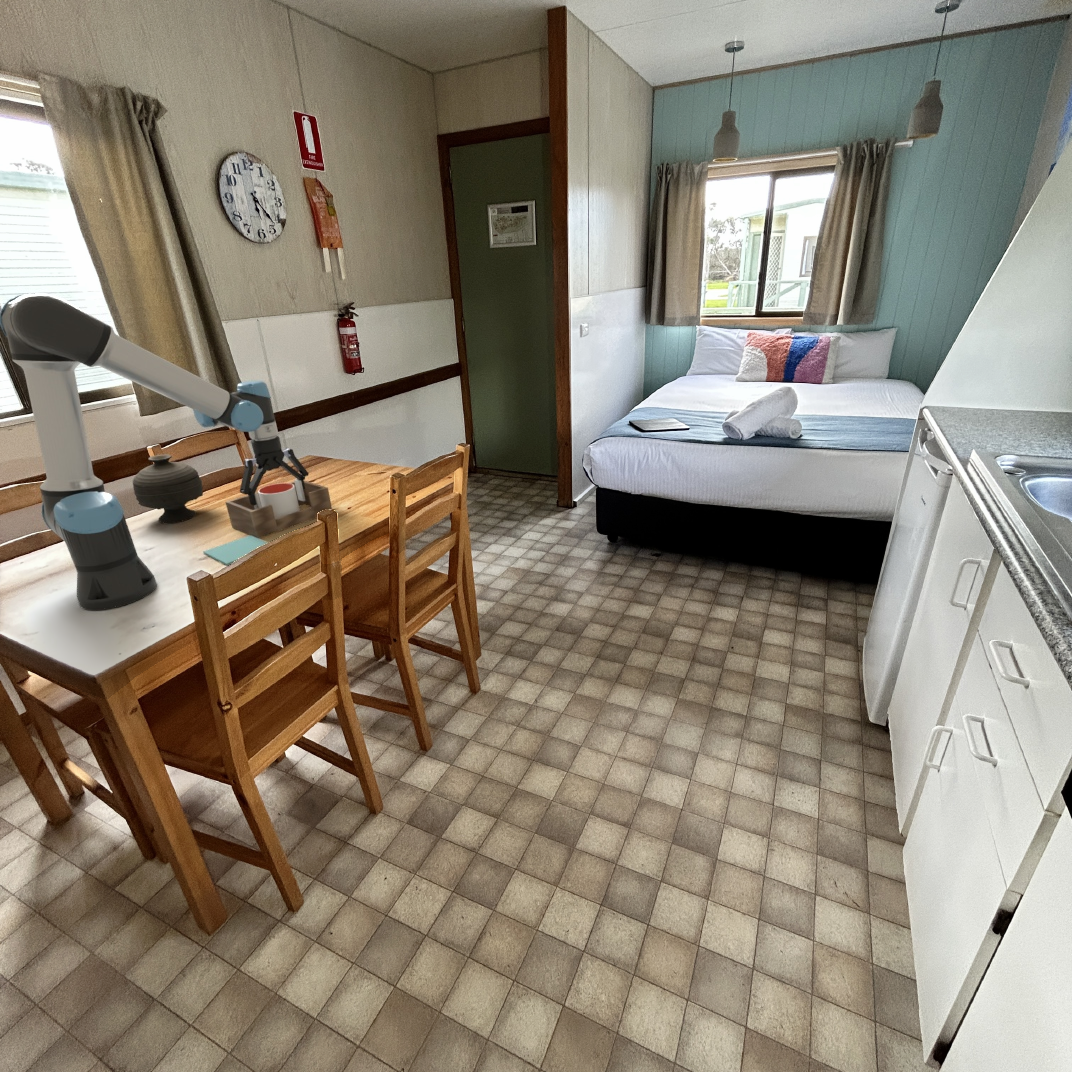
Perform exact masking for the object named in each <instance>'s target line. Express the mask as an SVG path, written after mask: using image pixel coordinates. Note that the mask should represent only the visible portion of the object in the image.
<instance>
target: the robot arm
mask: <svg viewBox="0 0 1072 1072" xmlns="http://www.w3.org/2000/svg"><path fill="white" fill-rule="evenodd" d="M0 327H1V330H2V332H3V334H4V335H5V337H6V338H7V341H8V346H9V351H10V354H11V359H12V362H14V363H15V364H17V365H18V366H19V367H20V368H21V369H22V370H23V372H24V377H25V381H26V385H27V390H28V391H27V392H28V395H29V400H30V405H31V409H32V414H33V415H32V416H33V418H34V425H35V428H36V433H37V437H38V442H39V448H40V453H41V457H42V461H43V467H44V471H45V475H46V476H45V477H46V479H45V480H44V481H43V482H42V483H41V484H40V485H39V489H40V493H41V499H42V504H41V518H42V520H43V521H44V523H45V525H46V527H48V529H50V530H51V531H52V532H53V533H54V534H56V535H57V536H58V537H59V538H60V539H61V540H63V542H64V543H65V545H66V547H67V550H68V552H69V555H70V557H71V560H72V562H73V565H74V567H75V570H76V599H77V601H78V604H79V606H80V608H82V609H83V610H88V611H102V610H110V609H114V608H119V607H124V606H126V605H129V604H132V603H135V602H137V601H139V600H141V599H143V598H145V597H147V596H148V595H150V594H151V593H152V592H153V591H155V589H156V588H157V586H158V583H157V581H156V577H155V575H154V574H153V572H152V571H151V570H150V569H149V567H148V566H147V565H146V564H145V563H144V561H143V560H142V559H141V558H140V557H139V555H138V552H137V549H136V546H135V543H134V541H133V540H134V539H133V538H132V535H131V532H130V529H129V526H128V523H127V521H126V517H125V514H124V512H125V511H124V509H123V506H122V505H121V503H120V501H119V499H118V498H117V497H116V496H115V495H113V494H112V493H109V492H106V491H105V486H104V481H103V480H102V479H100V478H98V477H97V476H96V475H95V474H94V470H93V464H92V458H91V454H90V453H91V452H90V448H89V443H88V437H87V432H86V427H85V421H84V415H83V409H82V405H81V400H80V395H79V394H80V393H79V389H78V384H77V379H76V372H75V370H76V368H77V367H79V365H80V364H83V365H85V366H87V367H89V368H93V367H100V368H103V369H105V370H107V371H109V372H111V373H114V374H116V375H118V376H119V377H123V378H125V379H127V380H129V381H130V382H133V383H135V384H138V385H140V386H142V387H143V388H144V387H145V388H146V389H148V390H150V391H153V392H155V393H157V394H159V395H161V396H164V397H166V398H168V399H170V400H172V401H174V402H176V403H179V404H181V405H183V406H185V407H188V408H190V409H192V411H193V414H194V417H195V419H196V421H197V423H198V424H199V426H201V427H203V428H211V427H214V428H215V427H217V426H223V427H227V428H231V429H235V430H238V431H240V432H242V433H244V432H245V433H246V432H247V433H248V437H249V438H250V443H251V447H252V451H253V454H254V458H250V459H249V458H245V459H244V460H243V463H244V469H243V474H242V479H241V483H240V489H239V494H240V493H241V494H243V495H244V496H247V495H248V497H249V500H250V504H251V505H254V508H255V509H258V508H261V504H260V500H259V496H258V494H257V490H258V488H259V486H260V484H261V482H262V479H263V477H264V475H265V474H266V473H267V471H272V470H275V469H280V468H281V469H283V470H285V471H286V472H288V473H289V474H290V475H292V476H293V477H294V478H295V479H294V480H293V482H295V487H296V491H297V496H298V500H300V501H305V496H304V491H303V489H305V485H304V481H306V477H308V476H309V472H308V470H307V469H306V468H305V467H304V466H303V464H302V463H301V462H300V460H299V459H298V458H297V457H296V455H295V452H294V449H291V448H288V447H286V448H285V449H284V450H282V443H281V439H280V437H279V431H278V427H277V423H276V418H275V414H274V408H273V404H272V400H271V399H272V397H271V395H270V392H269V391H270V390H269V388H268V386H267V383H266V382H265V381H263V380H251V381H250V380H249V381H242V382H239V383H237V386H236V388H237V391H234V392H229V391H227V390H226V389H223V388H221V387H220V386H218V385H216V384H214V383H212V382H209V381H208V380H206V379H204V378H202V377H200V376H198V375H196V374H194V373H192V372H190V371H188V370H186V369H184V368H183V367H180V366H178V365H177V364H174V363H172V362H171V361H168V360H167V359H165V358H163V357H161V356H159V355H157V354H154V353H153V352H151V351H149V350H147V349H145V348H143V347H141V346H140V345H137V344H135V343H133V342H131V341H130V340H128V339H126V338H123V337H122V336H120V335H118V334H116V333H115V331H114V328H113V327H112V326H110V325H109V324H107V323H105V322H103V321H101V320H100V319H97V318H96V317H94V316H92V315H90V314H89V313H88V312H87V311H84V310H83V309H81V308H79V307H77V306H76V305H74V304H72V303H71V302H69V301H68V300H65V299H64V298H61V297H58V296H56V295H52V294H48V293H35V294H34V293H28V294H27V293H23V294H20V295H16V296H14V297H12V298H10V299H9V300H7V302H5V304H4V305H3V306H2V307H1V310H0ZM284 457H286V458H288V461H290V463H292V464H293V466H294V468H295V469H294V468H293V467H292V466H290V465H289V464H288V463H287V462H285V461H284ZM255 464H256V465H257V466H255ZM254 467H256V468H255V472H254ZM253 472H254V474H253ZM252 475H253V477H252Z"/></svg>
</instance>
